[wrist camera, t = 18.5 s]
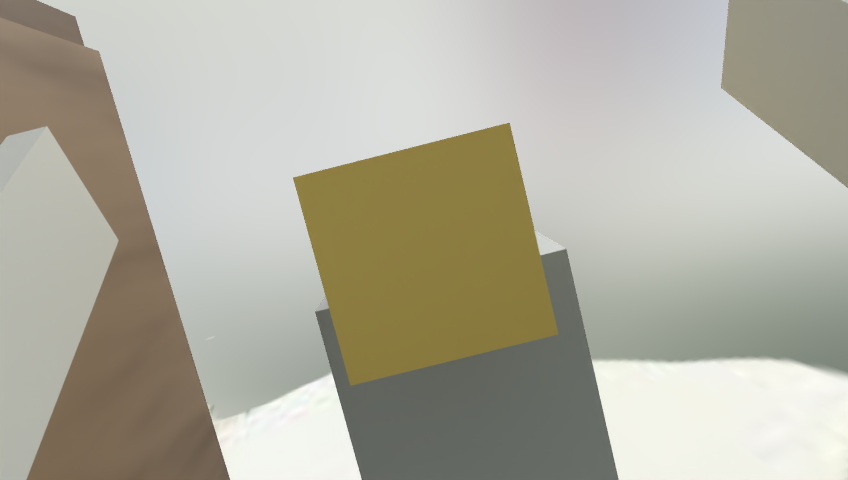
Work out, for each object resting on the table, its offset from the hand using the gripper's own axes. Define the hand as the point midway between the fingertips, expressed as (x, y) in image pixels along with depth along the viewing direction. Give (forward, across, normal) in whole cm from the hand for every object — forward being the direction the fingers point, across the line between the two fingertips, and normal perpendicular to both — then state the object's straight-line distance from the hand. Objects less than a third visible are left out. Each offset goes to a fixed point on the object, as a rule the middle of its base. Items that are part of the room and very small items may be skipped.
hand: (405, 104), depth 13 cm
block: (+8, 0, -10) cm, 13 cm away
